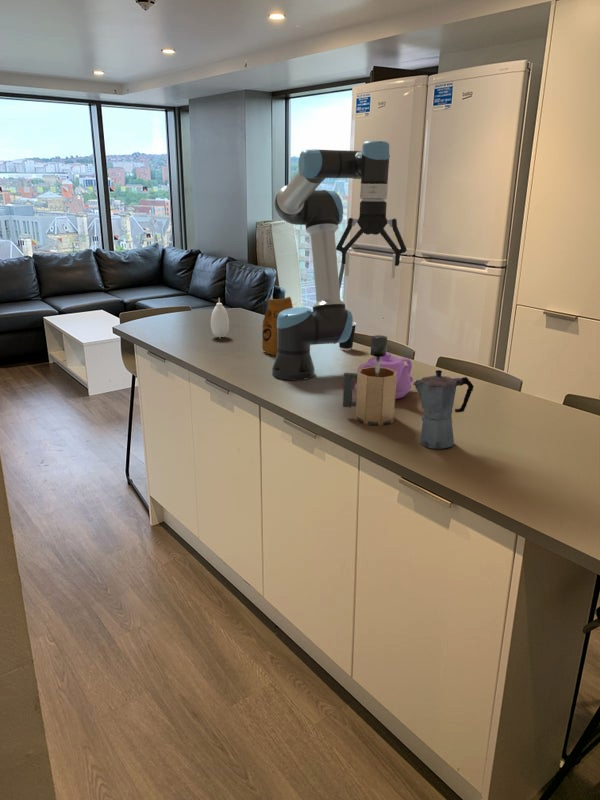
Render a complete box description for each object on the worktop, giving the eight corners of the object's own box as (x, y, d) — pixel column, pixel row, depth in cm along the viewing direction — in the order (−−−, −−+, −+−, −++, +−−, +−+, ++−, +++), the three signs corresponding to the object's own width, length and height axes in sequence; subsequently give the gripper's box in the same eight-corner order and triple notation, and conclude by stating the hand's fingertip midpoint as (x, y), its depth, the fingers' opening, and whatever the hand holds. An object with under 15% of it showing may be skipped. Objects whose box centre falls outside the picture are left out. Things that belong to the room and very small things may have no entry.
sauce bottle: (232, 337, 269) (231, 296, 263) (221, 340, 263) (220, 299, 257) (219, 334, 273) (217, 295, 267) (207, 338, 267) (206, 297, 261)
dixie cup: (346, 346, 256) (347, 320, 252) (359, 349, 250) (360, 323, 247) (332, 348, 251) (333, 322, 248) (345, 352, 246) (346, 326, 242)
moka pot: (404, 436, 163) (409, 365, 157) (460, 435, 164) (467, 364, 158) (413, 451, 154) (419, 376, 148) (472, 449, 155) (481, 375, 149)
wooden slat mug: (339, 422, 173) (341, 375, 168) (345, 409, 183) (347, 364, 178) (392, 427, 170) (395, 379, 165) (395, 413, 180) (398, 368, 175)
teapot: (378, 412, 181) (381, 367, 176) (341, 391, 199) (342, 350, 194) (436, 401, 191) (440, 359, 186) (395, 382, 209) (398, 343, 204)
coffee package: (259, 351, 247) (258, 297, 239) (285, 347, 253) (285, 294, 246) (271, 356, 239) (270, 301, 232) (297, 352, 245) (298, 298, 238)
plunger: (361, 401, 171) (364, 339, 165) (364, 392, 178) (367, 333, 172) (388, 403, 169) (392, 341, 164) (390, 394, 176) (394, 334, 171)
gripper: (327, 200, 170) (325, 276, 177) (417, 201, 165) (412, 279, 172) (332, 199, 177) (330, 273, 184) (418, 200, 172) (413, 276, 179)
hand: (369, 276), depth 178 cm, fingers open, 13 cm apart
